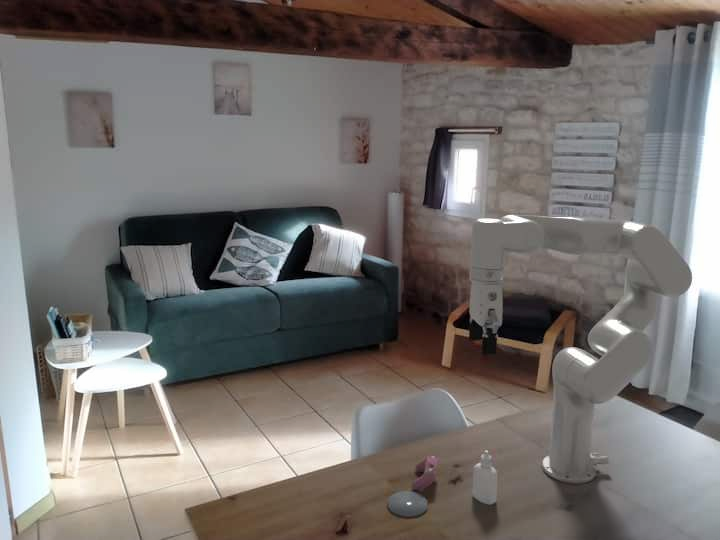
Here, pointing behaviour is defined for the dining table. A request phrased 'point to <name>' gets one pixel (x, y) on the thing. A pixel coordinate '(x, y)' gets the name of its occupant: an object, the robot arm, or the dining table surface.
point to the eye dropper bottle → (485, 480)
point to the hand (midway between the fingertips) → (481, 346)
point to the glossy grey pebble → (407, 504)
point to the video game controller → (426, 473)
